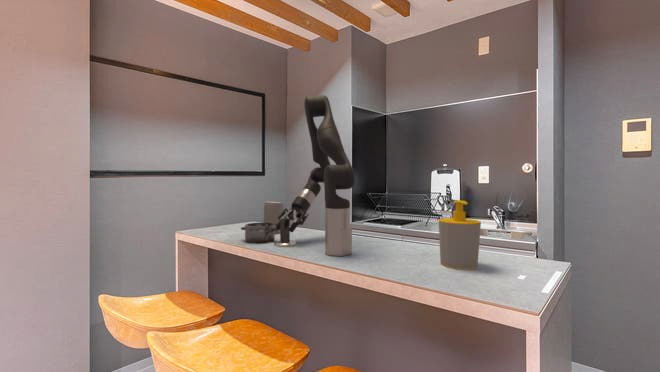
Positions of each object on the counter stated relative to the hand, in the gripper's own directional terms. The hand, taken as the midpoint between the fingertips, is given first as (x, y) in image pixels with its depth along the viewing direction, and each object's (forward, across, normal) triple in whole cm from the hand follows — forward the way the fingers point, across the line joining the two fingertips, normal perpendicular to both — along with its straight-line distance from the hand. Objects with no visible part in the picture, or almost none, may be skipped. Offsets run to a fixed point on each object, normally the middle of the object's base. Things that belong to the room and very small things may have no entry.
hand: (283, 229), depth 145 cm
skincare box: (-6, -27, +16) cm, 32 cm away
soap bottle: (-9, +67, +18) cm, 70 cm away
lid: (+4, 0, +5) cm, 6 cm away
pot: (+6, -15, +4) cm, 16 cm away
